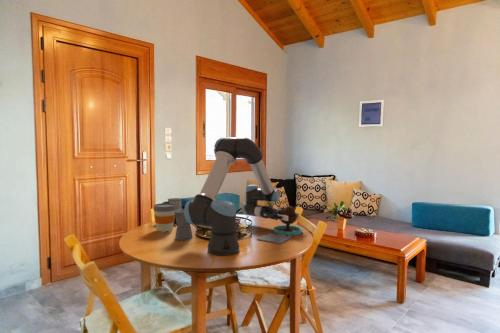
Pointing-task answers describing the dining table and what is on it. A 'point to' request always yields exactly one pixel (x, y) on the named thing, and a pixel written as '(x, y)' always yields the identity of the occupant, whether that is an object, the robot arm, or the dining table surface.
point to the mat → (274, 238)
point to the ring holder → (288, 232)
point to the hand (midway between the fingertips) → (293, 216)
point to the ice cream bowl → (291, 215)
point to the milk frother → (177, 204)
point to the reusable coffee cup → (164, 216)
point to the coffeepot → (182, 226)
